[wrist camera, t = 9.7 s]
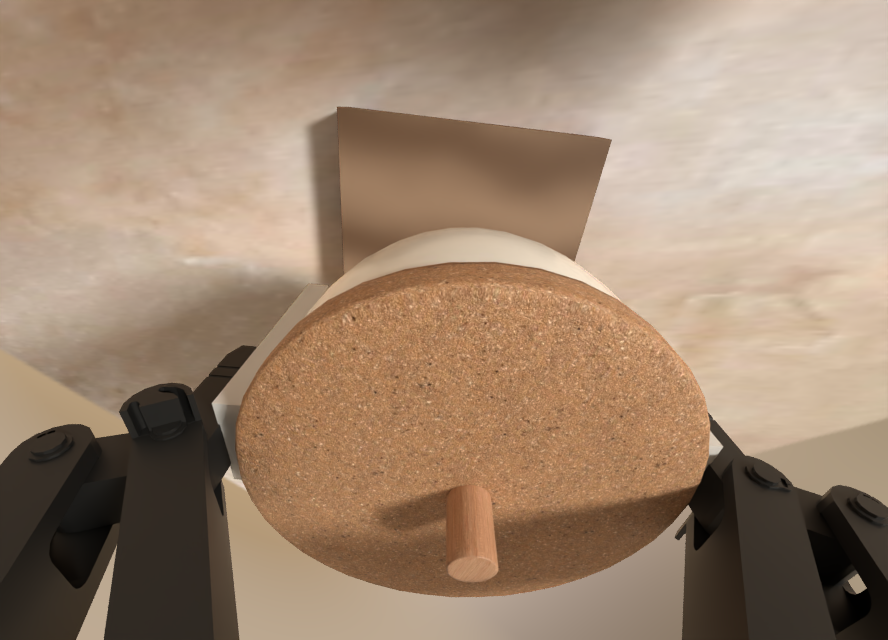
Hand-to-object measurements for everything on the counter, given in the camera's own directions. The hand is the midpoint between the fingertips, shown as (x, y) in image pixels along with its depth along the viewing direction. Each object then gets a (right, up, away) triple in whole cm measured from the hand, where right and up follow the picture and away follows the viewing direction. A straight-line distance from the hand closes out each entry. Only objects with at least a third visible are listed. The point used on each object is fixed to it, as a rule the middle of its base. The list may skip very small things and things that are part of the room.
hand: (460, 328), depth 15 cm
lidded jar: (0, 0, +1) cm, 1 cm away
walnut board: (0, +5, +9) cm, 10 cm away
